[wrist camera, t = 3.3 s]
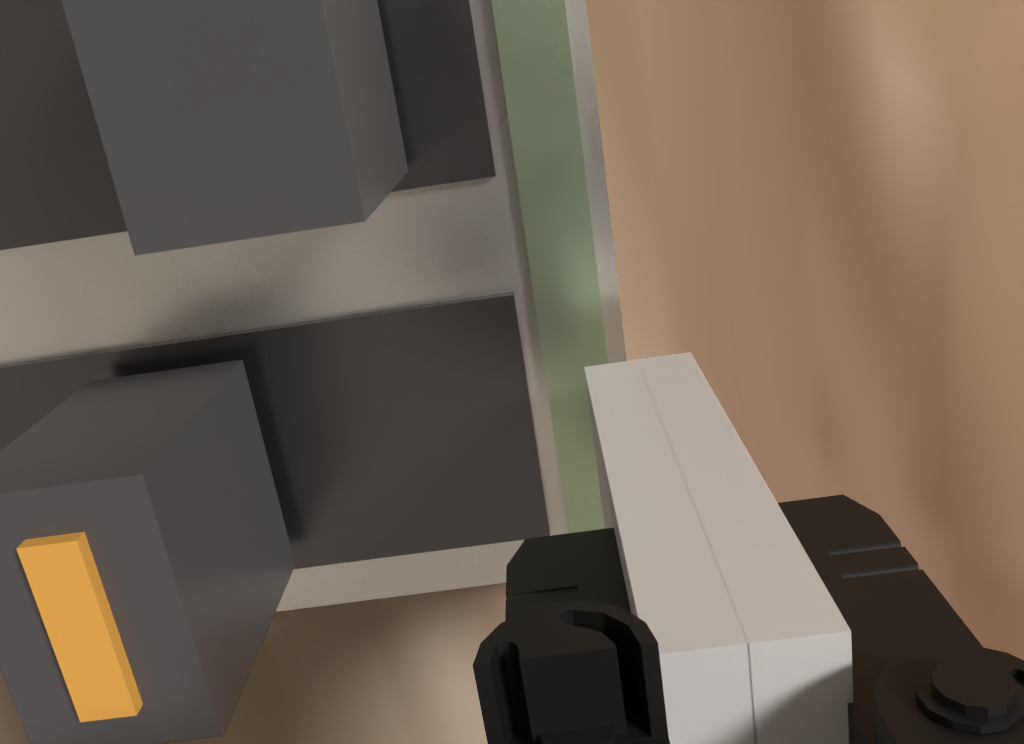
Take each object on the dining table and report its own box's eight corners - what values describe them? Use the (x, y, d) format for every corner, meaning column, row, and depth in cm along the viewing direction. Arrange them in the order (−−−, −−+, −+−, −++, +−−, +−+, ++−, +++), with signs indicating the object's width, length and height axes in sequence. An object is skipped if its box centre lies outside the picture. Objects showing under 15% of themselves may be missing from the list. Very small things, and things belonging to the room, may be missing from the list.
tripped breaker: (89, 381, 14) (-76, 510, 10) (242, 359, 14) (136, 482, 10) (153, 583, 15) (27, 770, 11) (295, 565, 15) (218, 747, 11)
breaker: (176, -80, 12) (22, -137, 8) (357, -110, 12) (284, -183, 8) (243, 196, 13) (134, 256, 9) (408, 171, 13) (366, 221, 9)
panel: (-526, -529, 13) (-731, -642, 11) (491, -733, 12) (486, -898, 10) (-64, 600, 18) (-138, 669, 16) (635, 509, 18) (650, 570, 16)
